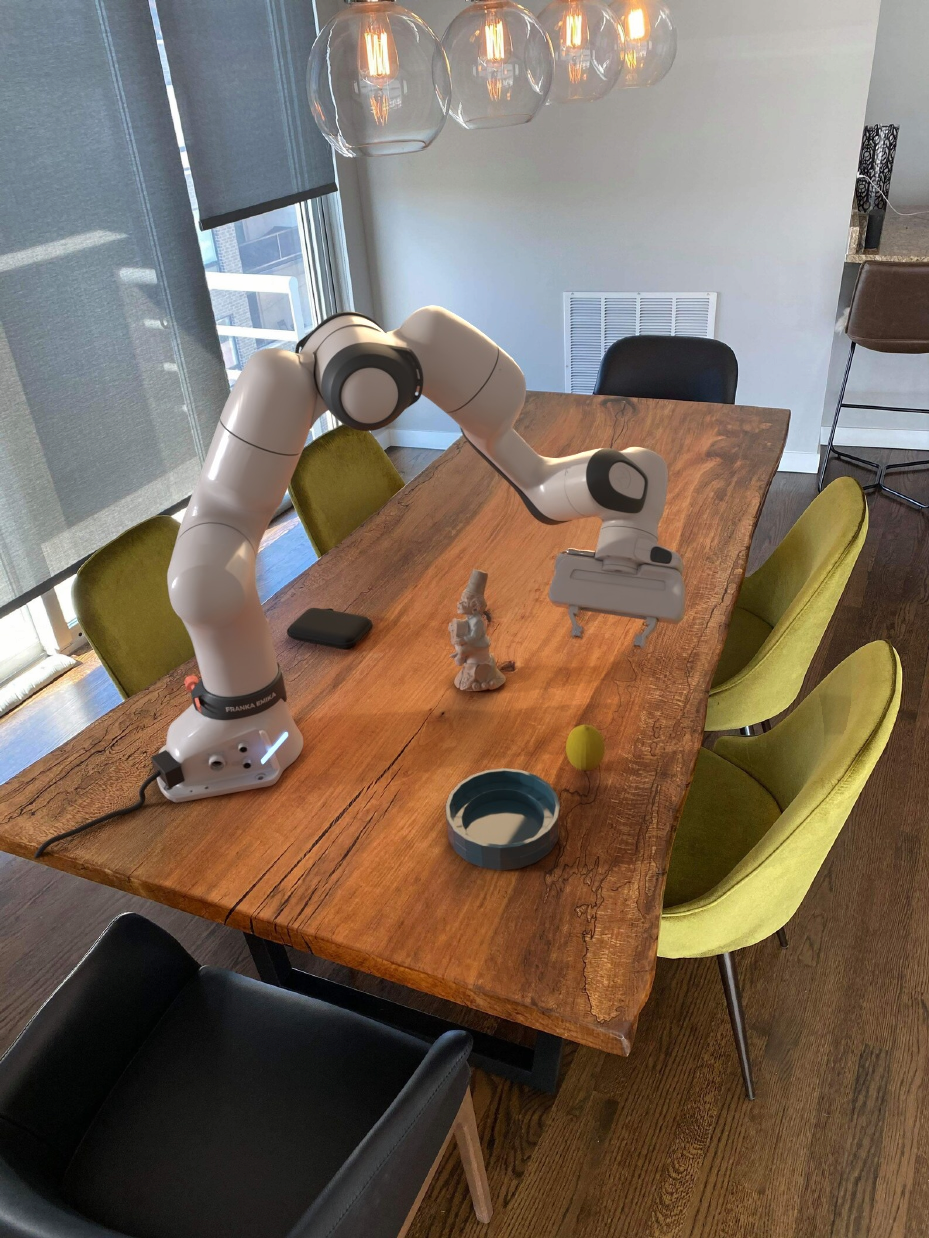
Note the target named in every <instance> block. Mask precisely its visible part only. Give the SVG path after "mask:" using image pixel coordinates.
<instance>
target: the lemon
mask: <svg viewBox="0 0 929 1238" xmlns="http://www.w3.org/2000/svg"><path fill="white" fill-rule="evenodd" d="M605 751H606V749H605V740H604V737H603V735H602V734H601V732H600V730H599V729H598V728H596V727H595V726H594V725H590V724H579V725H577V726H575V727H574V728H572V730H571V731H570V732H569V734H568V736H567V739H566V743H565V754H566V757H567V760H568V762H569V763H570V764H571V766H572V767H573V768H575V769H577V770H579V771H584V772H586V771H587V772H588V771H592V770H594V769H596V768H597V767H599V765H600V764H601V763H602V761H603V759H604V755H605Z"/></svg>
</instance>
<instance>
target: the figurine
mask: <svg viewBox="0 0 929 1238" xmlns="http://www.w3.org/2000/svg"><path fill="white" fill-rule="evenodd" d="M488 577H489V573H488V572H486V571H483V570H481V569H476V568H473V569H472V572H471V573H470V576H469V580H468V581H467V585H466V587H465V589H464V590H463V591H461V597H460V600H459V601H457V602H456V607H457V611H456V613H457V614H458V615H464V616H465V615H466V617H465V619H459V618H456V617H453V619H452V621H451V622H449V623H448V627H447V631H448V632H450V643H451V646H454V648H455V652H453V653H450V654H449V656H448V657H449V658H451V659H453V660H454V664H455V665H456V666H457V667H461V669H460V671H458V673H457V674H456V676H455V678H454V686H455V687H456V688H457V689H459V690H460V691H465V692H478V691H486V690H490V691H491V690H495V689H499V687H500V686H502V685H503V684H505V683H506V676H505V674H503V673H502V672H501V671H500V669H498V666H497V662H496V657H495V655H494V654H493V653H492V652H490V647H491V645H492V641H491V638H490V637H489V636H487V634H488V631H487V627H486V624H485V620H484V618H483V617H482V614H483V613H484V612H485V611H486V609H487V607H488V602H487V600H486V598H485V591H486V587H487V583H488V579H489V578H488ZM462 666H463V667H462Z"/></svg>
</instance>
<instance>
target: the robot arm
mask: <svg viewBox="0 0 929 1238" xmlns="http://www.w3.org/2000/svg"><path fill="white" fill-rule="evenodd" d="M416 393H417V394H416ZM422 396H423V397H424V398H427V399H428V400H429V401H430V402H431V403H433V404H434V405H436V406H437V407H438V408H439V409H440V410H441V411H443V412H444V413H445V414H446V415H448V416H449V417H450V418H451V419H452V420H453V421H454V422H455V423H457V425H458V426H459V429H460V432H461V434H462V436H463V437H464V439H465V440H466V442H467V443H468V444H469V445H470V446H471V448H472V449H473V450H474V451H475V452H476V453H477V454H478V455H479V456H480V457H481V458H482V459H483V460H484V461H485V462H486V463H488V465H489V466H490V467H491V468H492V469H493V470H494V471H495V472H497V473H498V474H499V476H501V478H502V479H503V480H504V481H505V482H507V483H508V484H509V485H510V486H511V487H512V489H513V490H514V491H515V492H516V493H517V495H518V496H519V498H520V499H521V501H522V502H523V504H524V506H525V507H526V509H527V510H528V512H529V513H530V514H531V516H532V517H533V518H535V519H536V521H538V522H540V523H542V524H544V525H547V526H558V525H562V524H565V523H568V522H569V523H570V522H572V521H575V520H582V519H588V518H595V517H596V518H598V519H599V520H601V521H602V523H601V524H602V525H601V527H600V529H599V533H598V539H597V543H596V547H595V548H596V549H595V550H588V549H577V548H574V547H573V548H572V547H570V548H569V547H568V548H567V550H562V551H561V552H559V553H558V554H557V555H556V557H555V562H554V575H553V577H552V580H551V583H550V586H549V589H548V593H547V594H548V596H547V597H548V598H549V601H550V603H551V604H552V605H553V606H554V607H555V608H561V609H568V611H567V614H568V616H569V619H570V622H571V625H572V627H571V632H570V637H571V638H572V639H575V640H581V641H582V640H583V638H584V633H585V628H584V627H583V626H582V625H579V623H578V619H577V618H580V617H581V613H582V612H589V613H594V614H600V615H601V614H603V615H608V616H616V617H621V618H623V617H624V618H628V619H634V620H635V619H636V620H643V621H645V625H646V628H645V629H644V631H643V632H642V633H641V634H635V635H634V641H633V648H634V649H637V650H642V651H643V650H645V649H646V646H647V641H648V639H649V638H650V637H651V636H652V634H653V633H655V631H656V630H657V628H658V624H659V623H663V624H668V625H679V624H680V623H681V622H682V621H683V620H684V618H685V612H686V603H687V602H686V601H687V599H686V598H687V589H686V585H685V582H684V579H683V575H684V571H685V563H684V560H683V558H682V556H681V555H680V554H679V553H678V552H676V551H674V550H672V549H669V548H668V547H665V546H663V545H660V544H659V525H660V522H661V520H662V518H663V516H664V513H665V507H666V503H667V496H668V487H669V472H668V465H667V462H666V461H665V459H664V458H663V457H662V455H660V454H659V453H657V452H655V451H654V450H652V449H649V448H645V447H642V446H631V447H628V448H625V449H622V450H617V449H614V448H610V447H603V448H601V447H600V448H595V449H592V450H591V449H590V450H587V451H582V452H579V453H576V454H575V453H574V454H572V455H571V454H570V455H567V456H563V457H546V456H542V455H540V454H538V453H537V452H536V451H535V450H534V449H533V447H531V446H530V444H529V443H527V441H525V439H524V438H523V437H522V436H521V435H520V434H519V433H518V432H517V431H516V430H515V429H514V428H513V427H514V425H515V423H516V422H517V420H518V418H519V416H520V414H521V412H522V410H523V408H524V406H525V402H526V397H527V382H526V377H525V374H524V372H523V370H522V369H521V368H520V366H519V365H518V363H517V362H516V361H515V360H514V359H513V357H511V356H510V355H509V354H508V353H507V352H506V351H505V350H504V349H503V348H501V347H500V346H499V345H498V344H497V343H496V342H495V341H494V340H492V339H491V338H489V337H488V336H487V335H486V334H485V333H484V332H482V331H481V330H480V329H478V328H477V327H475V326H474V325H472V324H471V323H469V322H468V321H467V320H465V319H464V318H462V317H460V316H459V315H457V314H455V313H453V312H451V311H450V310H448V309H446V308H444V307H442V306H438V305H428V306H423V307H421V308H419V309H416V311H414V312H413V313H411V314H410V315H408V317H407V318H405V320H404V321H403V323H402V324H401V325H400V327H397V328H396V329H394V330H391V331H386V333H385V331H384V330H383V328H382V327H381V326H380V325H379V323H377V321H375V320H374V319H373V318H371V317H369V316H367V315H365V314H363V313H360V312H357V311H349V310H345V311H339V312H336V313H333V314H332V315H329V316H328V317H326V318H325V319H323V320H322V321H321V322H320V323H319V324H318V325H317V326H316V327H315V328H313V329H312V330H311V331H310V332H309V333H307V334H306V335H305V336H304V337H302V338H301V339H300V340H298V341H297V343H296V345H295V350H294V352H293V351H290V350H288V349H284V348H279V347H278V348H276V347H270V348H269V347H267V348H262V349H260V350H257V351H256V352H254V353H253V354H252V355H251V356H250V357H249V359H248V360H247V361H246V362H245V365H244V367H243V368H242V370H241V371H240V373H239V375H238V377H237V379H236V380H235V382H234V384H233V386H232V388H231V390H230V392H229V395H228V397H227V399H226V401H225V403H224V406H223V409H222V411H221V414H220V417H219V420H218V422H217V426H216V428H215V430H214V434H213V436H212V440H211V442H210V444H209V448H208V450H207V453H206V456H205V459H204V462H203V465H202V468H201V471H200V473H199V475H198V478H197V481H196V483H195V486H194V488H193V491H192V494H191V496H190V499H189V502H188V505H187V507H186V510H185V512H184V514H183V518H182V521H181V523H180V526H179V529H178V532H177V536H176V540H175V542H174V543H175V544H174V547H173V550H172V554H171V558H170V562H169V565H168V569H167V572H166V573H167V574H166V578H167V579H166V581H167V590H168V597H169V601H170V604H171V607H172V609H173V611H174V612H175V614H176V615H177V616H178V618H180V619H181V621H182V623H183V625H184V627H185V629H186V631H187V633H188V635H189V638H190V641H191V643H192V646H193V650H194V654H195V658H196V661H197V662H196V663H197V666H198V669H199V673H200V676H201V678H200V679H198V677H197V676H195V675H188V676H186V678H185V679H184V685H185V690H186V691H187V692H188V693H190V696H191V702H192V704H190V706H189V707H187V708H186V709H185V710H184V711H183V712H182V713H181V714H180V715H179V716H178V717H176V718H175V719H174V720H173V721H172V722H171V724H170V725H169V728H168V729H167V733H166V739H165V740H166V742H165V745H163V746H162V747H161V748H160V750H159V751H158V753H156V754H155V755H152V756H150V759H151V763H152V766H153V769H154V773H153V774H151V775H150V776H149V777H147V778H146V779H145V780H144V782H143V783H142V784H141V786H140V787H139V790H138V796H139V800H138V801H137V802H136V803H135V804H133V805H131V806H129V807H126V808H122V809H118V810H114V811H111V812H108V813H106V814H104V815H102V816H100V817H97V818H96V819H93V820H90V821H88V822H86V823H83V824H82V825H80V826H78V827H76V828H73V829H71V830H68V831H65V832H63V833H60V834H58V835H57V834H56V835H55V836H53V837H51V838H49V839H47V840H46V841H45V842H43V843H42V844H41V845H40V846H39V848H37V850H36V852H35V854H34V856H33V858H34V859H38V858H40V857H41V856H42V855H43V854H44V852H45V851H46V850H47V849H48V848H49V847H50V846H51V845H53V844H55V843H57V842H59V841H62V840H65V839H68V838H70V837H73V836H75V835H77V834H80V833H82V832H84V831H87V830H88V829H90V828H92V827H95V826H97V825H100V824H102V823H104V822H106V821H108V820H110V819H113V818H116V817H120V816H122V815H127V814H130V813H132V812H134V811H137V810H139V809H140V808H141V807H143V805H144V804H145V802H146V798H147V797H146V792H145V791H146V790H147V788H148V787H149V785H151V784H152V783H153V782H154V781H155V780H156V782H157V785H158V787H159V790H160V792H161V793H162V794H163V796H164V797H165V798H166V799H168V800H170V801H171V802H174V803H185V802H189V801H194V800H195V801H196V800H199V799H200V800H201V799H206V798H210V797H216V796H222V795H227V794H232V793H239V792H245V791H249V790H256V789H261V788H267V787H271V786H274V785H275V784H276V783H277V782H278V781H279V780H280V778H281V776H282V774H283V772H284V771H285V770H286V769H287V768H288V767H290V765H292V764H293V763H294V762H295V761H296V760H297V759H298V757H299V756H300V754H301V753H302V751H303V748H304V736H303V734H302V732H301V730H299V728H298V725H297V724H296V722H295V720H294V718H293V715H292V713H291V710H290V707H289V705H288V702H287V700H288V697H287V693H288V691H287V686H286V681H285V676H284V672H283V670H282V668H281V665H280V663H279V662H278V661H277V656H276V651H275V650H276V649H275V646H274V641H273V636H272V635H273V634H272V631H271V630H272V629H271V626H270V621H269V619H268V618H267V617H266V615H265V612H264V609H263V606H262V603H261V600H260V596H259V592H258V588H257V581H256V564H257V558H258V553H259V549H260V546H261V542H262V540H263V537H264V535H265V533H266V531H267V529H268V527H269V525H270V523H271V521H272V520H273V517H274V515H275V514H276V512H277V510H278V508H279V507H280V506H281V505H282V503H283V501H284V498H285V495H286V493H287V491H288V488H289V485H290V483H291V480H292V478H293V475H294V473H295V471H296V469H297V466H298V463H299V460H300V458H301V456H302V453H303V450H304V448H305V445H306V443H307V440H308V437H309V434H310V430H312V428H313V427H314V425H315V423H316V422H317V421H318V420H319V418H321V416H322V415H324V414H325V413H327V412H328V411H329V413H330V414H331V415H332V416H333V417H334V418H335V419H336V420H338V421H339V422H340V423H341V424H343V425H345V427H348V428H350V429H353V430H356V431H359V432H373V431H376V430H381V429H383V428H385V427H387V426H389V425H390V424H391V423H393V422H394V421H395V420H397V419H398V418H399V417H400V416H401V415H402V413H404V411H405V410H407V409H408V408H409V407H411V406H412V405H414V404H416V403H417V402H418V401H419V400H420V399H421V397H422Z"/></svg>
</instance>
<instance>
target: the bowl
mask: <svg viewBox="0 0 929 1238" xmlns="http://www.w3.org/2000/svg"><path fill="white" fill-rule="evenodd" d="M444 806H445V807H444V809H445V818H446V828H447V838H448V839H447V840H448V842H449V844H450V845H451V847H452V848H453V850H454V852H455V853H456V854H457V855H459V856H460V857H461V858H462V859H463V860H464V861H466V862H468V863H470V864H473V865H475V866H478V867H480V868H482V869H489V870H497V871H506V870H507V871H508V870H517V869H522V868H524V867H527V866H530V865H532V864H533V865H534V864H536V863H538V862H539V861H540V860H542V859H543V858H544V857H545V856H547V855H548V854H550V853H551V851H552V850H553V849H554V847H555V845H556V844H557V843H558V842H559V837H560V832H561V804H560V801H559V796H558V794H557V792H556V791H555V789H554V788H553V787H552V786H551V784H550V783H549V782H548V781H546V780H545V779H544V778H541V777H540V776H539V775H537V774H534V773H531V772H529V771H526V770H523V769H515V768H507V767H503V768H491V769H486V770H483V771H480V772H476V773H474V774H471V775H469V776H468V777H466V778H465V779H463V780H461V781H460V782H458V783H457V784H456V786H455V787H454V788H453V789H452V790H451V791H450V792H449V795H448V796H447V800H446V802H445V805H444Z"/></svg>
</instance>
